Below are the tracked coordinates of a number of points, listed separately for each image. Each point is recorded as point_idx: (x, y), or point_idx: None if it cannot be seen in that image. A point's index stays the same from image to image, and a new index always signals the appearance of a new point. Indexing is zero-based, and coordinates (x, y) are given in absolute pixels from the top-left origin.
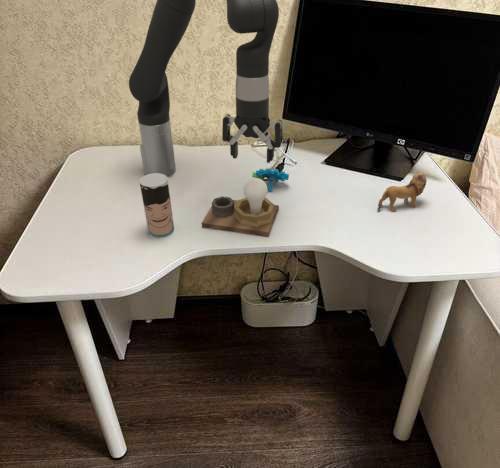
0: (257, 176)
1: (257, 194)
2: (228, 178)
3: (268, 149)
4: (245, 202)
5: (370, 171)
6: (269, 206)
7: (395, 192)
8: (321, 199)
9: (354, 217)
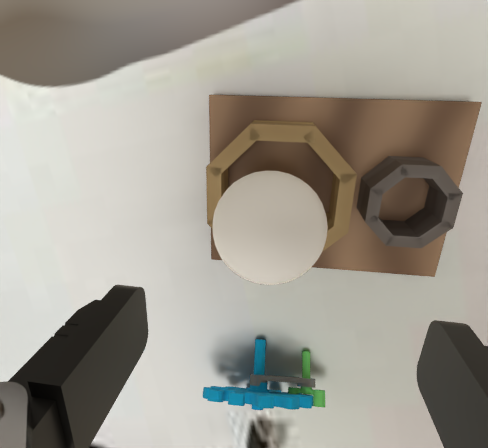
0: (307, 392)
1: (247, 178)
2: (403, 393)
3: (41, 383)
4: None
5: None
6: None
7: None
8: None
9: (5, 246)
